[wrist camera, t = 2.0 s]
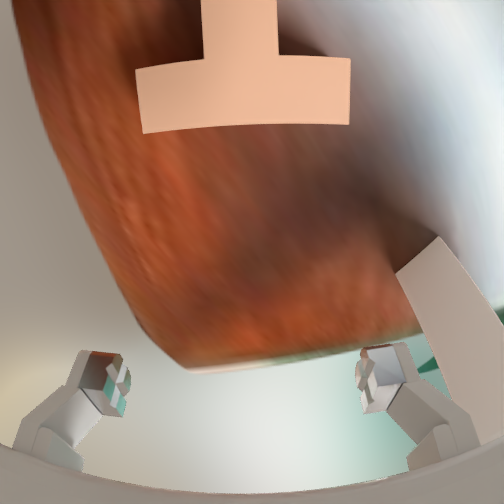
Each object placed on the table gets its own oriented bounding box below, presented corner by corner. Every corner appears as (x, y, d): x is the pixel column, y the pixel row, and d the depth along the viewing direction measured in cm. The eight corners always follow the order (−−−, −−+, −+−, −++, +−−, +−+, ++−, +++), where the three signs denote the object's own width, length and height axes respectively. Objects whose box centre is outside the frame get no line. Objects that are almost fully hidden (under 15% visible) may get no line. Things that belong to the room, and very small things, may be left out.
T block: (325, -39, 14) (344, -61, 10) (329, 110, 21) (348, 124, 17) (153, -30, 14) (129, -48, 10) (164, 118, 21) (143, 133, 17)
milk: (438, 234, 27) (560, 435, 8) (460, 266, 29) (559, 440, 11) (393, 274, 29) (479, 488, 11) (419, 301, 32) (494, 483, 13)
